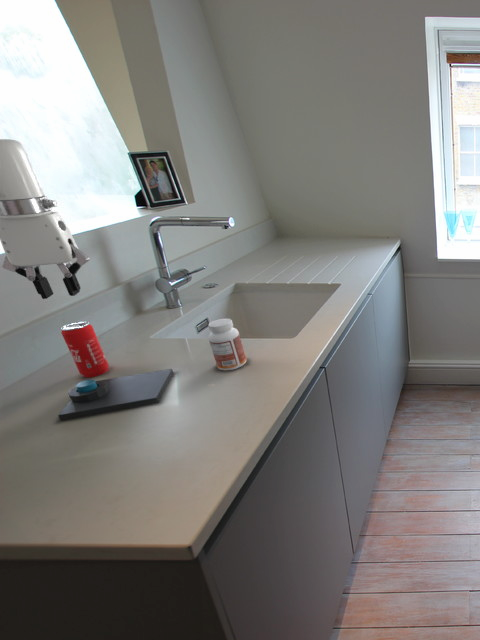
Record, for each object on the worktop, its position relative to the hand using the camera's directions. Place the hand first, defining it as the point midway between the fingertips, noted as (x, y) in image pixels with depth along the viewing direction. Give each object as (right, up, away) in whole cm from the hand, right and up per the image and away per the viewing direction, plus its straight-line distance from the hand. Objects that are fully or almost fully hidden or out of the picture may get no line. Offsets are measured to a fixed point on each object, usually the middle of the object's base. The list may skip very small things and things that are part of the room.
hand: (61, 294), depth 94 cm
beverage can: (0, -18, +8) cm, 19 cm away
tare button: (+9, -20, -4) cm, 22 cm away
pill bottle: (+30, -16, +11) cm, 36 cm away
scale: (+14, -21, -1) cm, 25 cm away
